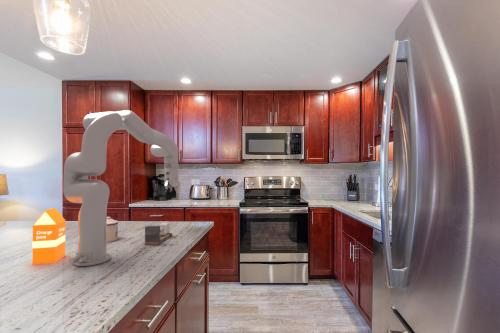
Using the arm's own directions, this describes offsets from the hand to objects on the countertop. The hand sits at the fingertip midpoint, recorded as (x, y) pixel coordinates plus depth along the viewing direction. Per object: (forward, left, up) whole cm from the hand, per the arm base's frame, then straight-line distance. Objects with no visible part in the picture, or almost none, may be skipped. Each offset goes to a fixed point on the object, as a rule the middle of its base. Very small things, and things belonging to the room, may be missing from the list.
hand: (171, 198), depth 146 cm
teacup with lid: (-16, +27, -20) cm, 37 cm away
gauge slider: (-11, 0, -18) cm, 21 cm away
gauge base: (-15, 0, -20) cm, 25 cm away
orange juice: (-46, +31, -20) cm, 59 cm away
